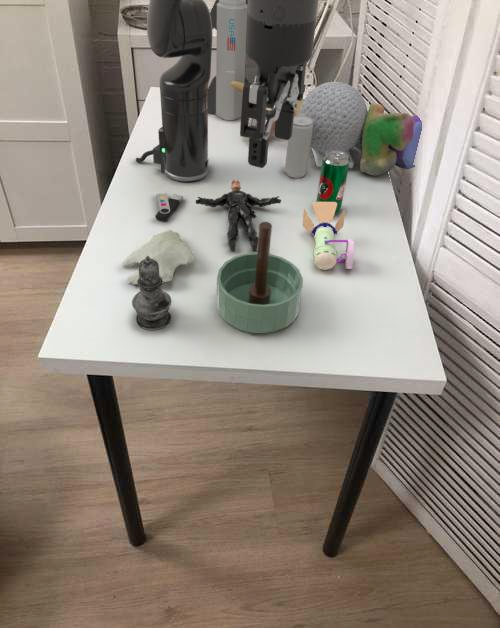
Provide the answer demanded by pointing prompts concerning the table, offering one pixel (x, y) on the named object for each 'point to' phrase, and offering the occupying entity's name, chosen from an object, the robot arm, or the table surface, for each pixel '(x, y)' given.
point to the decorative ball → (335, 116)
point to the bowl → (235, 294)
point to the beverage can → (299, 147)
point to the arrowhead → (162, 255)
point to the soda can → (333, 177)
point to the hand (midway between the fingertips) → (270, 151)
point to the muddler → (262, 267)
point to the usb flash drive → (167, 205)
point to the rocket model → (228, 58)
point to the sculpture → (383, 139)
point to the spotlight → (327, 236)
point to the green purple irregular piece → (408, 147)
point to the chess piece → (151, 297)
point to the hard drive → (319, 156)
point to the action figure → (239, 212)
